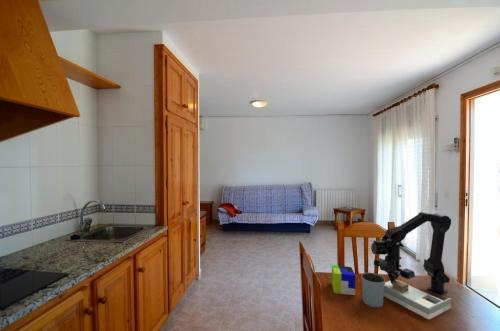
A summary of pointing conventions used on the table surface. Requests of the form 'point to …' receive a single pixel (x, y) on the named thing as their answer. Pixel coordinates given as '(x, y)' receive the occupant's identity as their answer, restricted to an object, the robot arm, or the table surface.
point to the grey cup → (373, 289)
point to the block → (400, 286)
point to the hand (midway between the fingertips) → (392, 284)
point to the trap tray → (417, 301)
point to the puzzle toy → (343, 280)
